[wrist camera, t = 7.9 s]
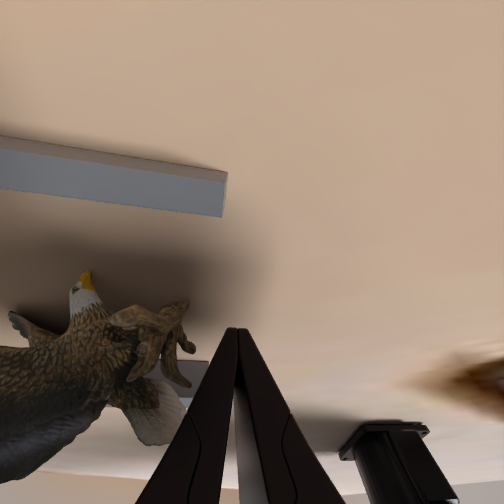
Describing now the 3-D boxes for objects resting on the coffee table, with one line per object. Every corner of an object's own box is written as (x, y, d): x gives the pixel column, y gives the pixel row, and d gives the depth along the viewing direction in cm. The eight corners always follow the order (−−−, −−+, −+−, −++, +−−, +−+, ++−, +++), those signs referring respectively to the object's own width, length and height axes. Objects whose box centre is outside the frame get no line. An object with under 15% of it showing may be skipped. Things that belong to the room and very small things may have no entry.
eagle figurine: (116, 191, 6) (-219, 292, 6) (131, 513, 3) (-704, 897, 2) (194, 278, 13) (48, 330, 12) (225, 409, 10) (29, 493, 9)
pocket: (207, 371, 13) (200, 430, 10) (-38, 363, 11) (-122, 432, 9) (228, 172, 7) (223, 191, 5) (-258, 94, 6) (-692, 55, 3)
